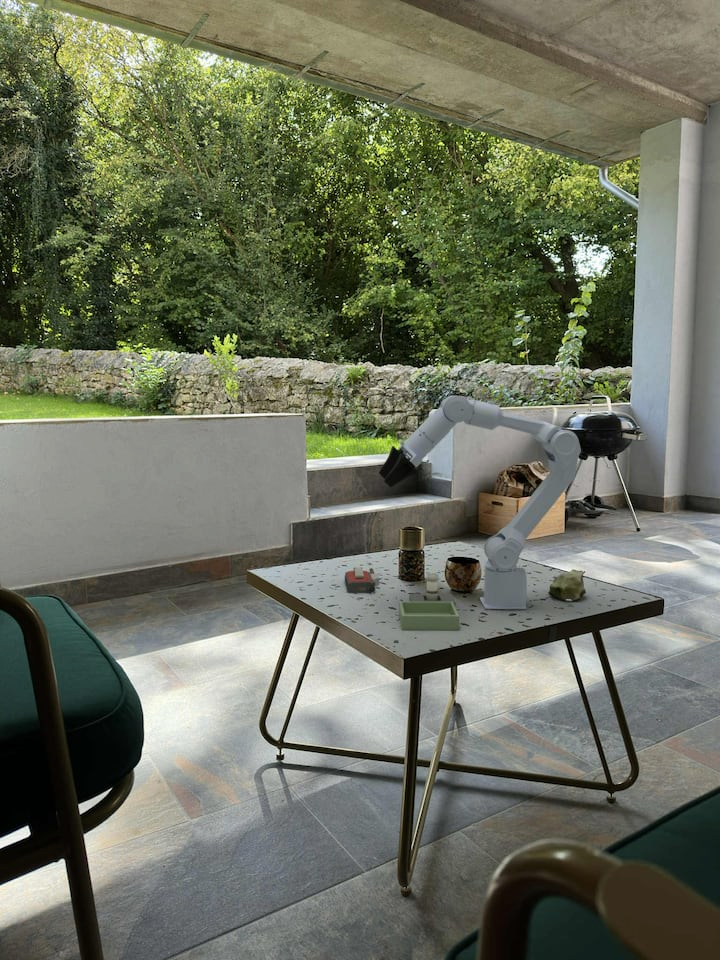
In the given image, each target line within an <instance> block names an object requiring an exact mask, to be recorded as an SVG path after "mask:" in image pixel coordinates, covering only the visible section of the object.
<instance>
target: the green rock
mask: <svg viewBox="0 0 720 960" xmlns="http://www.w3.org/2000/svg"><path fill="white" fill-rule="evenodd" d="M585 573H586V571H585V570H584V571H583V570H576V569H571V570H570V571H568V572H562V573H560V574H559V575H558V576H555V575H554V576H553V577H552V579H553V580H552V583H551V584H550V585H549V591H547V593H549V594H550V593H551V594H552V595H553V596H555V597H557V598H558V599H560V600H562V601H564V600H566V599H571V600H575V601H578V599H579V600H581V598H582V597H583V596H585V594H586V593H587V591H586V588H585V586H584V574H585Z"/></svg>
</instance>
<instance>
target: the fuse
mask: <svg viewBox="0 0 720 960" xmlns="http://www.w3.org/2000/svg"><path fill="white" fill-rule="evenodd" d="M425 594H426V601H438V594H439V574H438V573H427V574H426V593H425Z"/></svg>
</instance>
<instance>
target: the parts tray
mask: <svg viewBox="0 0 720 960" xmlns="http://www.w3.org/2000/svg"><path fill="white" fill-rule="evenodd" d="M398 616H399V620H400V621H399V622H400V627H401V630H402V631H421V630H422V631H459V630H460V615H459V612H458V611H457V608H455V605H454V603H453V602H409V601H398Z"/></svg>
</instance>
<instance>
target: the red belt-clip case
mask: <svg viewBox="0 0 720 960" xmlns="http://www.w3.org/2000/svg"><path fill="white" fill-rule="evenodd" d="M344 582H346V583H345V586H346V587H347V588H346V591H347V592H348V594H372V593H374V592H375V591H376V587H377V586H379V584H380V578H379V573H375V572H374V568H372V567H370V568H369V569H368V571H367V570H364V569H363V567H360V566H359V567H353V570H348V571H346V572H345V574H344Z"/></svg>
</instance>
